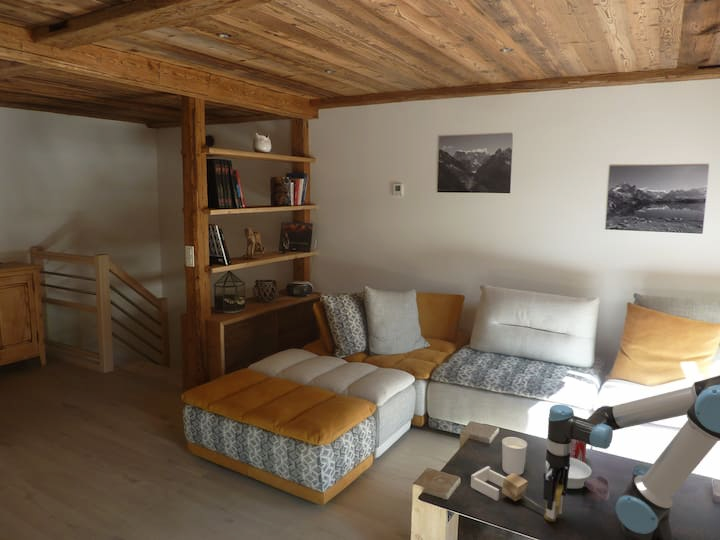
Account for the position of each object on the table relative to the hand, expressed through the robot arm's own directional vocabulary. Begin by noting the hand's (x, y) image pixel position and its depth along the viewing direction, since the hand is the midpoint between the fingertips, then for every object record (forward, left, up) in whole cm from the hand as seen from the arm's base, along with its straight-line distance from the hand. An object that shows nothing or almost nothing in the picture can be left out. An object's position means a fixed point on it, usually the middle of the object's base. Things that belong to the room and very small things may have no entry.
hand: (553, 514), depth 185 cm
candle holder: (+28, -18, -3) cm, 33 cm away
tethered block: (+9, 0, -1) cm, 9 cm away
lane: (+25, 0, -2) cm, 25 cm away
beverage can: (+15, -45, -3) cm, 48 cm away
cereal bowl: (+9, -26, -3) cm, 28 cm away
